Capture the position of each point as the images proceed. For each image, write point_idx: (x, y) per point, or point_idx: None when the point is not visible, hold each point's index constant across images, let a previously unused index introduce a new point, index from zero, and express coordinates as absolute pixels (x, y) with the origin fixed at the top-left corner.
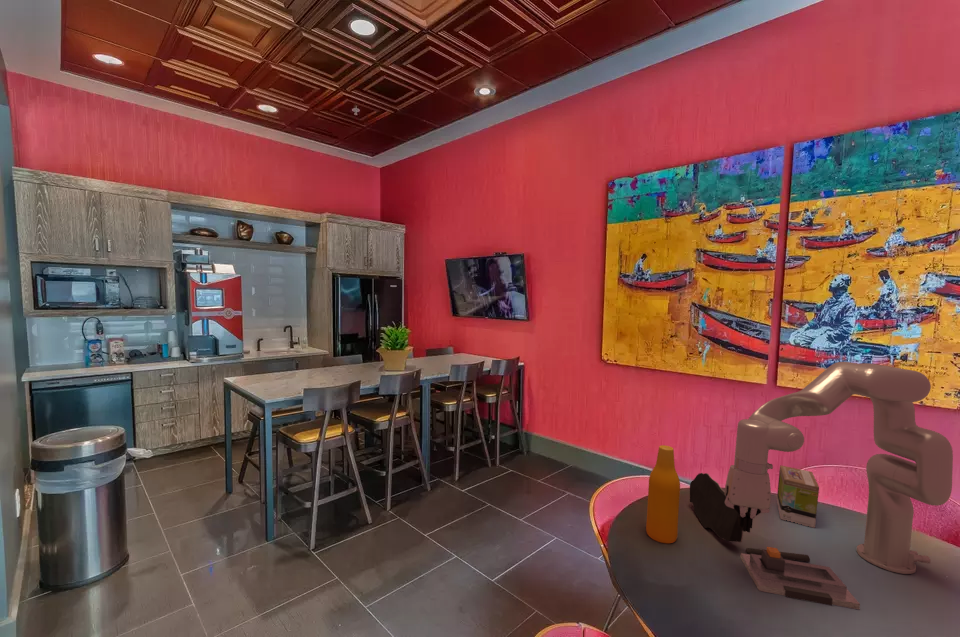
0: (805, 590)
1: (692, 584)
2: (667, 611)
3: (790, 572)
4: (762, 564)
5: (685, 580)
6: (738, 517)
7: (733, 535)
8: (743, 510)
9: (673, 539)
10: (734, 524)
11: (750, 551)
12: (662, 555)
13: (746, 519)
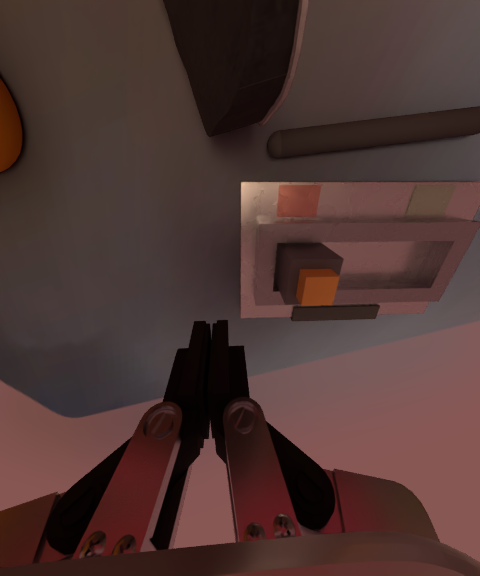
0: (334, 309)
1: (108, 331)
2: (77, 395)
3: (346, 246)
4: (273, 272)
5: (93, 324)
6: (169, 381)
7: (223, 130)
8: (166, 524)
9: (6, 161)
10: (222, 116)
11: (281, 154)
12: (15, 248)
13: (203, 438)
